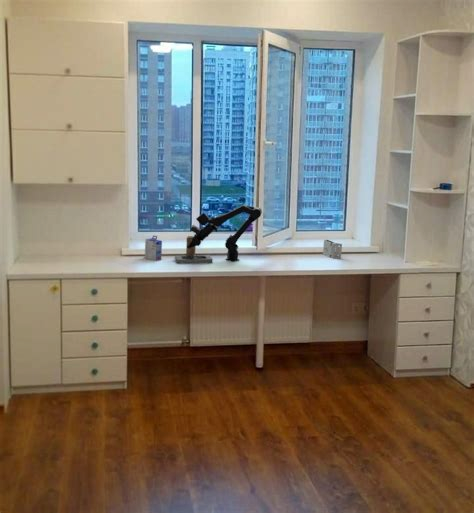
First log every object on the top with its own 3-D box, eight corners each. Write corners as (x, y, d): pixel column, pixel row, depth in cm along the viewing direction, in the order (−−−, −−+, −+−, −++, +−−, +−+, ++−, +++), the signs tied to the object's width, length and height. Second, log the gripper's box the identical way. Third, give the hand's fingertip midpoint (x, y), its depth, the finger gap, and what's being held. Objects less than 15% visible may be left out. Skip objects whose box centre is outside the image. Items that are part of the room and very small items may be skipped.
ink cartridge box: (162, 259, 403) (162, 237, 399) (155, 261, 398) (156, 238, 394) (150, 256, 408) (151, 234, 404) (144, 258, 404) (144, 235, 400)
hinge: (341, 258, 428) (342, 243, 425) (335, 259, 425) (337, 244, 422) (325, 253, 438) (326, 239, 435) (320, 254, 435) (321, 240, 432)
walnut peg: (195, 256, 414) (195, 236, 411) (193, 258, 410) (194, 238, 406) (187, 255, 415) (188, 235, 411) (186, 257, 410) (186, 237, 407)
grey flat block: (209, 259, 409) (209, 255, 409) (212, 263, 401) (212, 259, 400) (175, 259, 404) (175, 255, 403) (177, 263, 395) (177, 259, 395)
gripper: (200, 218, 415) (183, 233, 419) (195, 224, 397) (177, 240, 401) (212, 231, 416) (194, 246, 420) (207, 237, 398) (189, 253, 402)
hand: (188, 246), depth 411 cm, fingers closed on walnut peg, 5 cm apart
